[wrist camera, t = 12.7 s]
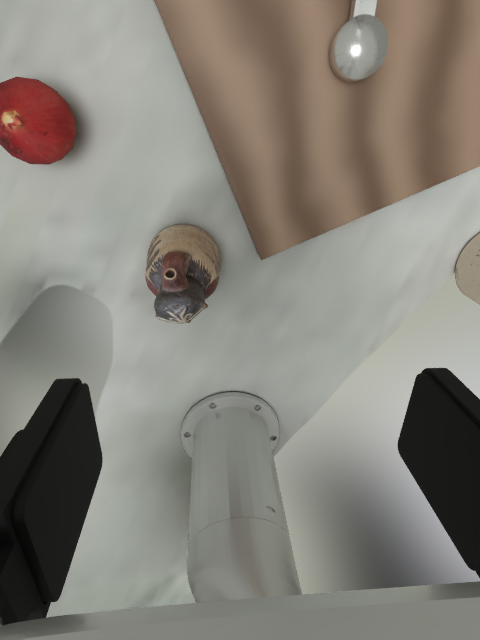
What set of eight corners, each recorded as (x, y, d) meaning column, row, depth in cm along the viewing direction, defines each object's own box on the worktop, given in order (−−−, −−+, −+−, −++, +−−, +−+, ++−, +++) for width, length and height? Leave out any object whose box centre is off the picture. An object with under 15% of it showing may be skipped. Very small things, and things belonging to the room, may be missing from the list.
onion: (57, 176, 33) (15, 186, 26) (0, 119, 31) (-63, 113, 24) (101, 129, 32) (71, 127, 25) (45, 67, 30) (-6, 44, 22)
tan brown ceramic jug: (151, 290, 39) (130, 349, 28) (146, 221, 35) (119, 258, 25) (220, 290, 39) (224, 347, 28) (220, 222, 36) (225, 258, 25)
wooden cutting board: (259, 256, 38) (261, 260, 37) (128, -65, 26) (124, -75, 25) (512, 147, 35) (523, 147, 34) (486, -264, 24) (501, -287, 22)
